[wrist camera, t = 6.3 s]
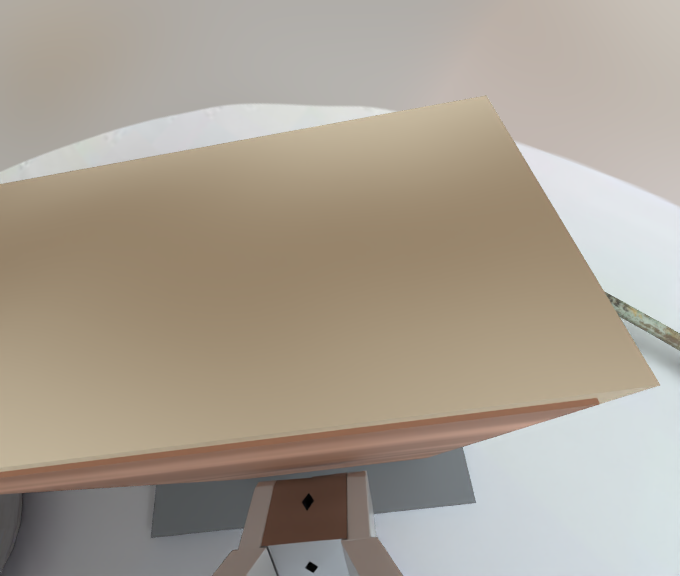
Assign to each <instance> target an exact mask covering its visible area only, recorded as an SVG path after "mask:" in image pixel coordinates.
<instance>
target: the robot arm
mask: <svg viewBox="0 0 680 576" xmlns="http://www.w3.org/2000/svg"><path fill="white" fill-rule="evenodd" d="M212 576H403V575H402V573H401V572H400V570H399V569H398V567H397V566H396V564H395V563H394V561H393V560H392V558H391V557H390V555H389V554H388V552H387V551H386V549H385V548H384V546H383V545H382V543H381V542H380V541H379V539H378V538H377V537H376V530H375V520H374V513H373V506H372V499H371V493H370V487H369V481H368V476H367V471H360V472H351V473H348V472H346V473H338V474H330V475H322V476H314V477H312V478H301V479H288V480H275V481H265V482H258V484H257V486H256V487H255V489H254V493H253V497H252V500H251V504H250V508H249V511H248V515H247V519H246V522H245V526H244V530H243V533H242V537H241V540H240V544H239V548H238V550H232V551H231V553H230V554H229V555H228V556H227V558H226V559H225V560H224V561H223V563H222V564H221V565H220V566H219V568H218V569H217V570H216V571H215V573H214V574H213V575H212Z"/></svg>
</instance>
